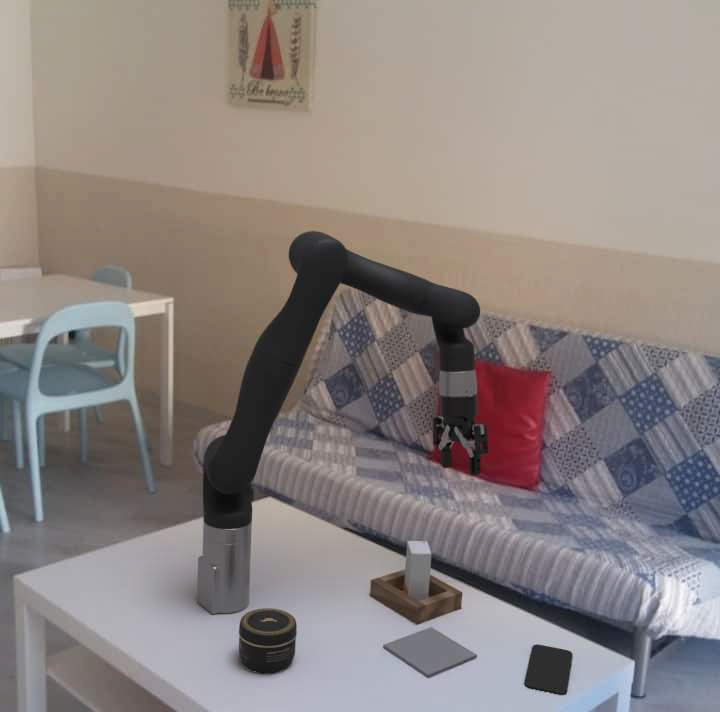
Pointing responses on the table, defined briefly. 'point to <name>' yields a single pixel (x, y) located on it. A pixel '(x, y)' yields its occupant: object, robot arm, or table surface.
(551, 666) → the phone
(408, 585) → the skincare box
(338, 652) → the table surface
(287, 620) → the jar
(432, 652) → the rubber mat
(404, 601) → the brown wooden rectangular frame
